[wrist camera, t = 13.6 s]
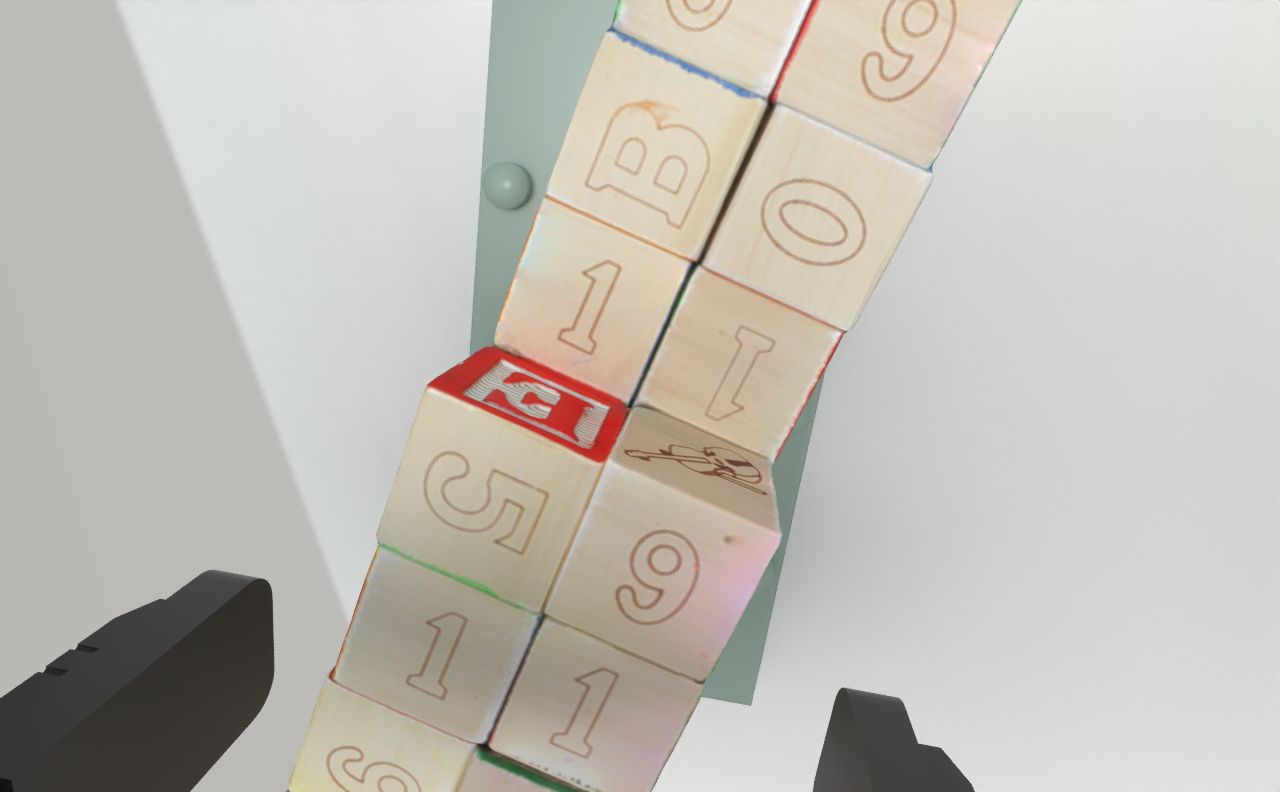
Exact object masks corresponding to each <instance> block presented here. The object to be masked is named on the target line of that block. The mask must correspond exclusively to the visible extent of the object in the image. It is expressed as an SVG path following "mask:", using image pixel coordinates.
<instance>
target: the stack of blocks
mask: <svg viewBox="0 0 1280 792" xmlns="http://www.w3.org/2000/svg"><path fill="white" fill-rule="evenodd" d="M1021 2H1022V0H618V3H617V6H616V10H615V14H614V18H613V23H612V26H611V27H610V28H609V29H608V30H607V31H605V32H604V34H603V36H602V39H601V41H600V43H599V45H598V48H597V50H596V53H595V56H594V59H593V62H592V64H591V67H590V70H589V73H588V75H587V78H586V81H585V84H584V86H583V89H582V92H581V95H580V97H579V100H578V103H577V105H576V108H575V111H574V114H573V117H572V119H571V122H570V125H569V128H568V131H567V133H566V136H565V139H564V142H563V145H562V147H561V150H560V153H559V156H558V159H557V161H556V164H555V167H554V169H553V172H552V174H551V177H550V180H549V183H548V186H547V191H546V195H545V197H544V199H543V200H542V202H541V204H540V206H539V208H538V210H537V212H536V214H535V217H534V221H533V224H532V227H531V229H530V232H529V234H528V237H527V240H526V242H525V245H524V248H523V251H522V254H521V256H520V259H519V262H518V265H517V268H516V271H515V274H514V277H513V280H512V283H511V286H510V289H509V292H508V294H507V297H506V300H505V303H504V306H503V309H502V311H501V314H500V317H499V320H498V324H497V328H496V332H495V344H494V345H493V346H491V347H484V348H482V349H480V350H479V351H476V352H475V353H474V354H473V355H472V356H470V357H469V358H467V359H466V360H464V361H462V362H460V363H458V364H457V365H456V366H454V367H453V368H451V369H449V370H448V371H446V372H445V373H443V374H442V375H440V376H438V377H437V378H435V379H434V380H433V381H431V382H430V383H429V384H428V385H427V386H426V389H425V391H424V394H423V397H422V400H421V402H420V405H419V409H418V412H417V415H416V418H415V421H414V424H413V427H412V430H411V433H410V436H409V439H408V442H407V445H406V448H405V451H404V454H403V457H402V461H401V464H400V466H399V469H398V472H397V475H396V478H395V481H394V484H393V487H392V490H391V492H390V495H389V498H388V501H387V504H386V507H385V510H384V513H383V516H382V519H381V522H380V525H379V528H378V531H377V534H376V535H377V540H378V547H377V550H376V552H375V555H374V558H373V560H372V563H371V565H370V568H369V570H368V573H367V575H366V578H365V581H364V584H363V587H362V590H361V593H360V596H359V599H358V601H357V604H356V607H355V610H354V614H353V617H352V621H351V624H350V626H349V629H348V631H347V634H346V637H345V640H344V643H343V645H342V648H341V651H340V654H339V657H338V660H337V663H336V665H335V666H334V667H333V669H332V670H331V671H330V672H329V674H328V675H327V677H326V679H325V681H324V683H323V686H322V689H321V692H320V695H319V697H318V700H317V703H316V705H315V708H314V711H313V714H312V717H311V720H310V723H309V726H308V729H307V732H306V735H305V737H304V740H303V743H302V746H301V749H300V752H299V754H298V757H297V760H296V763H295V766H294V768H293V771H292V774H291V777H290V780H289V784H288V789H287V791H286V792H651V791H652V789H653V788H654V786H655V784H656V782H657V780H658V778H659V776H660V774H661V771H662V770H663V768H664V766H665V764H666V762H667V761H668V759H669V757H670V755H671V753H672V751H673V749H674V748H675V746H676V744H677V742H678V740H679V738H680V736H681V734H682V732H683V730H684V729H685V727H686V725H687V723H688V721H689V719H690V717H691V716H692V714H693V712H694V710H695V708H696V706H697V704H698V702H699V700H700V697H701V694H702V691H703V687H704V683H705V679H706V678H708V677H709V676H710V674H711V673H712V672H713V670H714V668H715V666H716V664H717V663H718V661H719V659H720V657H721V655H722V653H723V651H724V649H725V647H726V646H727V644H728V642H729V640H730V638H731V636H732V634H733V632H734V630H735V628H736V627H737V625H738V623H739V621H740V619H741V617H742V615H743V614H744V612H745V610H746V608H747V606H748V604H749V602H750V601H751V599H752V597H753V595H754V593H755V591H756V589H757V587H758V586H759V584H760V582H761V580H762V578H763V576H764V574H765V572H766V570H767V568H768V566H769V564H770V562H771V560H772V558H773V557H774V555H775V553H776V551H777V550H778V548H779V546H780V545H781V542H782V537H783V533H782V530H781V523H780V516H779V509H778V503H777V496H776V488H775V480H774V472H773V466H772V465H773V463H774V462H775V461H776V459H777V458H778V456H779V454H780V452H781V450H782V448H783V446H784V444H785V443H786V441H787V439H788V437H789V435H790V433H791V432H792V430H793V428H794V426H795V424H796V422H797V420H798V419H799V417H800V415H801V413H802V411H803V409H804V407H805V405H806V404H807V402H808V400H809V398H810V396H811V394H812V392H813V391H814V389H815V387H816V385H817V383H818V381H819V379H820V378H821V376H822V374H823V372H824V370H825V369H826V367H827V365H828V363H829V361H830V359H831V358H832V356H833V354H834V352H835V350H836V348H837V346H838V344H839V342H840V340H841V338H842V336H843V334H844V333H846V332H847V331H849V330H850V329H852V328H853V326H854V324H855V323H856V321H857V319H858V317H859V315H860V314H861V312H862V310H863V308H864V307H865V305H866V303H867V301H868V299H869V298H870V296H871V294H872V292H873V290H874V289H875V287H876V285H877V283H878V282H879V280H880V278H881V276H882V274H883V273H884V271H885V269H886V267H887V266H888V264H889V262H890V260H891V258H892V256H893V254H894V252H895V251H896V249H897V247H898V245H899V243H900V241H901V239H902V237H903V236H904V234H905V232H906V230H907V228H908V226H909V224H910V222H911V220H912V219H913V217H914V215H915V213H916V211H917V209H918V207H919V205H920V204H921V202H922V200H923V198H924V196H925V194H926V192H927V190H928V188H929V187H930V185H931V183H932V181H933V173H932V165H933V163H934V162H935V160H936V158H937V157H938V155H939V153H940V151H941V150H942V148H943V146H944V144H945V143H946V141H947V139H948V138H949V136H950V134H951V132H952V130H953V128H954V126H955V125H956V123H957V121H958V119H959V117H960V115H961V113H962V112H963V110H964V108H965V106H966V104H967V102H968V100H969V98H970V96H971V94H972V93H973V91H974V89H975V87H976V85H977V84H978V82H979V80H980V78H981V76H982V74H983V73H984V71H985V69H986V67H987V65H988V63H989V61H990V59H991V57H992V56H993V54H994V52H995V50H996V48H997V46H998V44H999V43H1000V41H1001V39H1002V38H1003V36H1004V34H1005V32H1006V30H1007V28H1008V26H1009V24H1010V22H1011V20H1012V19H1013V17H1014V15H1015V13H1016V11H1017V9H1018V7H1019V5H1020V4H1021Z"/></svg>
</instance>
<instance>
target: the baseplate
mask: <svg viewBox="0 0 1280 792" xmlns="http://www.w3.org/2000/svg"><path fill="white" fill-rule="evenodd" d="M617 3H618V0H493V4H492V20H491V35H490V50H489V66H488V81H487V97H486V112H485V128H484V143H483V159H482V174H481V190H480V205H479V220H478V236H477V251H476V267H475V282H474V298H473V313H472V329H471V344H470V356H472V355H473V354H474V353H475V352H476V351H479V350H480V349H482V348H484V347H491V346H493V345H494V344H495V332H496V328H497V324H498V320H499V317H500V314H501V311H502V309H503V306H504V303H505V300H506V297H507V294H508V292H509V289H510V286H511V283H512V280H513V277H514V274H515V271H516V268H517V265H518V262H519V259H520V256H521V254H522V251H523V248H524V245H525V242H526V240H527V237H528V234H529V232H530V229H531V227H532V224H533V221H534V217H535V214H536V212H537V210H538V208H539V206H540V204H541V202H542V200H543V199H544V197H545V195H546V191H547V186H548V183H549V180H550V177H551V174H552V172H553V169H554V167H555V164H556V161H557V159H558V156H559V153H560V150H561V147H562V145H563V142H564V139H565V136H566V133H567V131H568V128H569V125H570V122H571V119H572V117H573V114H574V111H575V108H576V105H577V103H578V100H579V97H580V95H581V92H582V89H583V86H584V84H585V81H586V78H587V75H588V73H589V70H590V67H591V64H592V62H593V59H594V56H595V53H596V50H597V48H598V45H599V43H600V41H601V39H602V36H603V34H604V32H605V31H607V30H608V29H609V28H610V27H611V26H612V23H613V18H614V14H615V10H616V6H617ZM824 372H825V370H824ZM824 372H823V374H822V376H821V378H820V379H819V381H818V383H817V385H816V387H815V389H814V391H813V392H812V394H811V396H810V398H809V400H808V402H807V404H806V405H805V407H804V409H803V411H802V413H801V415H800V417H799V419H798V420H797V422H796V424H795V426H794V428H793V430H792V432H791V433H790V435H789V437H788V439H787V441H786V443H785V444H784V446H783V448H782V450H781V452H780V454H779V456H778V458H777V459H776V461H775V462H774V463H773V465H772V466H773V472H774V480H775V488H776V496H777V503H778V509H779V516H780V523H781V530H782V533H783V537H782V542H781V545H780V546H779V548H778V550H777V551H776V553H775V555H774V557H773V558H772V560H771V562H770V564H769V566H768V568H767V570H766V572H765V574H764V576H763V578H762V580H761V582H760V584H759V586H758V587H757V589H756V591H755V593H754V595H753V597H752V599H751V601H750V602H749V604H748V606H747V608H746V610H745V612H744V614H743V615H742V617H741V619H740V621H739V623H738V625H737V627H736V628H735V630H734V632H733V634H732V636H731V638H730V640H729V642H728V644H727V646H726V647H725V649H724V651H723V653H722V655H721V657H720V659H719V661H718V663H717V664H716V666H715V668H714V670H713V672H712V673H711V674H710V676H709V677H708V678H706V679H705V683H704V687H703V691H702V694H701V697H706V698H712V699H717V700H723V701H728V702H734V703H739V704H744V705H750V706H751V703H752V699H753V694H754V690H755V685H756V681H757V676H758V672H759V667H760V663H761V658H762V653H763V649H764V644H765V640H766V635H767V631H768V626H769V622H770V617H771V613H772V608H773V603H774V599H775V594H776V590H777V585H778V581H779V576H780V572H781V567H782V563H783V558H784V554H785V549H786V544H787V540H788V535H789V531H790V526H791V522H792V517H793V513H794V508H795V504H796V499H797V494H798V490H799V485H800V481H801V476H802V472H803V467H804V463H805V458H806V454H807V449H808V444H809V440H810V435H811V431H812V426H813V422H814V417H815V413H816V408H817V404H818V399H819V394H820V390H821V385H822V381H823V376H824Z"/></svg>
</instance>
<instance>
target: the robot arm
mask: <svg viewBox="0 0 1280 792" xmlns="http://www.w3.org/2000/svg"><path fill="white" fill-rule="evenodd" d="M273 638H274V637H273V600H272V589H271V586H270V584H269V583H268V582H267V580H265V579H261V578H255V577H250V576H244V575H239V574H234V573H228V572H223V571H218V570H209V571H206V572H204V573H202V574H201V575H199V576H198V577H196V578H195V579H194V580H192V581H191V582H189V583H188V584H187V585H185V586H184V587H183V588H181V589H180V590H179V591H177V592H176V593H174V594H173V595H172V596H170V597H169V598H168V599H166V600H163V599H159V600H156V601H154V602H151V603H149V604H147V605H144V606H142V607H140V608H137V609H135V610H133V611H130V612H128V613H126V614H123V615H121V616H119V617H116V618H114V619H113V620H111V621H110V622H109V623H107V624H106V625H104V626H103V627H102V628H100V629H99V630H97V631H96V632H94V633H93V634H91V635H90V636H89V637H87V638H86V639H84V640H83V641H81V642H80V643H79V644H78V646H77V648H76V649H75V650H71V649H70V650H69V651H67V652H66V653H64V654H63V655H62V656H60V657H59V658H57V659H56V660H54V661H53V662H51V663H50V664H49V665H47V666H46V669H45V671H44V672H43V673H41V672H37V673H36V674H34V675H33V676H31V677H30V678H29V679H27V680H26V681H24V682H23V683H22V684H20V685H19V686H17V687H16V688H14V689H13V690H12V691H10V692H9V693H7V694H6V695H4V696H3V697H2V698H0V792H190V791H191V790H192V789H193V788H194V786H195V785H196V784H197V783H198V782H199V781H200V780H201V779H202V777H203V776H204V775H205V774H206V773H207V772H208V771H209V769H210V768H211V767H212V766H213V765H214V764H215V763H216V762H217V761H218V759H219V758H220V757H221V756H222V755H223V754H224V753H225V752H226V750H227V749H228V748H229V747H230V746H231V745H232V744H233V743H234V741H235V740H236V739H237V738H238V737H239V736H240V735H241V733H242V732H243V731H244V730H245V729H246V728H247V727H248V725H250V723H251V722H252V721H253V720H254V719H255V717H256V716H257V715H258V713H259V712H260V710H261V709H262V707H263V705H264V704H265V701H266V699H267V697H268V695H269V692H270V689H271V686H272V682H273V677H274V639H273ZM813 792H975V791H974V789H973V787H972V784H971V783H970V782H969V781H968V780H967V778H966V777H965V776H964V775H963V774H962V772H961V771H960V770H959V769H958V768H957V767H956V765H955V764H954V763H953V762H952V761H951V759H950V758H949V757H948V756H947V755H946V754H945V752H944V751H943V750H942V749H941V748H938V747H933V746H928V745H923V744H918V742H917V739H916V736H915V734H914V731H913V728H912V725H911V722H910V720H909V717H908V714H907V711H906V709H905V706H904V704H903V702H902V701H901V699H899V698H897V697H891V696H886V695H880V694H875V693H870V692H864V691H859V690H853V689H848V688H841V689H840V690H839V692H838V694H837V696H836V699H835V702H834V706H833V710H832V714H831V718H830V722H829V726H828V729H827V733H826V737H825V741H824V745H823V749H822V753H821V757H820V760H819V764H818V768H817V772H816V776H815V781H814V788H813Z"/></svg>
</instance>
